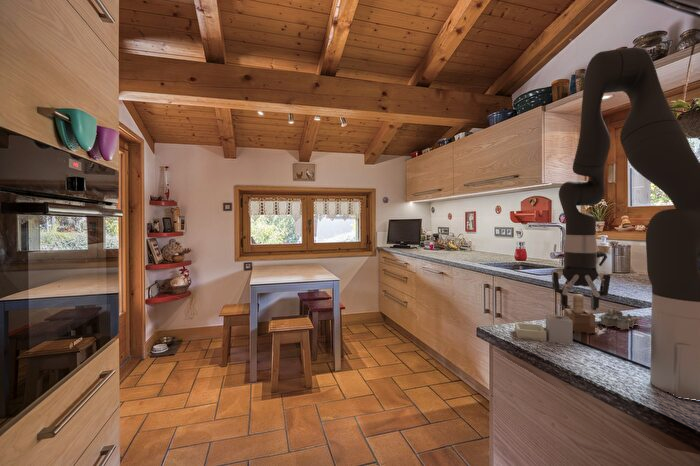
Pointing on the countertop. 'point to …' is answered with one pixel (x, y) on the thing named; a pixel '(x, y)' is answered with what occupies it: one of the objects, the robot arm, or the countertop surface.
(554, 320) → the off-white square block
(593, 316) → the bore block
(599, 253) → the coffee maker
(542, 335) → the tray
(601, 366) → the countertop surface
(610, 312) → the grey lumpy piece
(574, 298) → the tan wooden peg
